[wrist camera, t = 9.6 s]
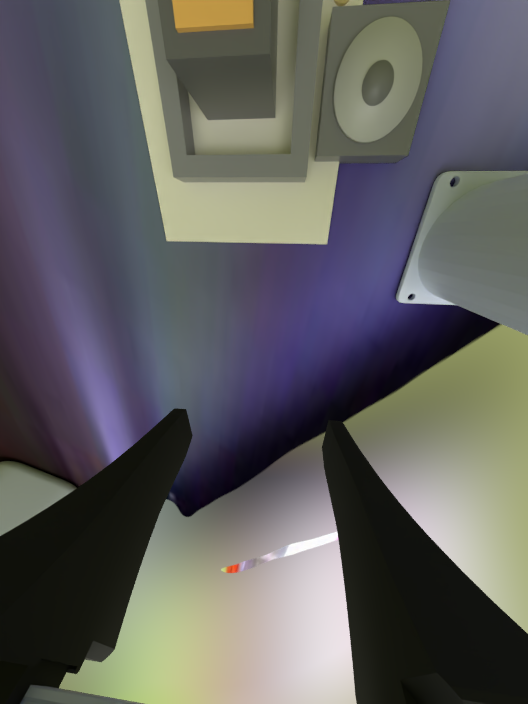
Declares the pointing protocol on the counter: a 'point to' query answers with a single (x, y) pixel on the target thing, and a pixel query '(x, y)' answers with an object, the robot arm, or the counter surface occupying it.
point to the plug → (224, 54)
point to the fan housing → (376, 79)
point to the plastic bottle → (26, 493)
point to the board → (239, 139)
